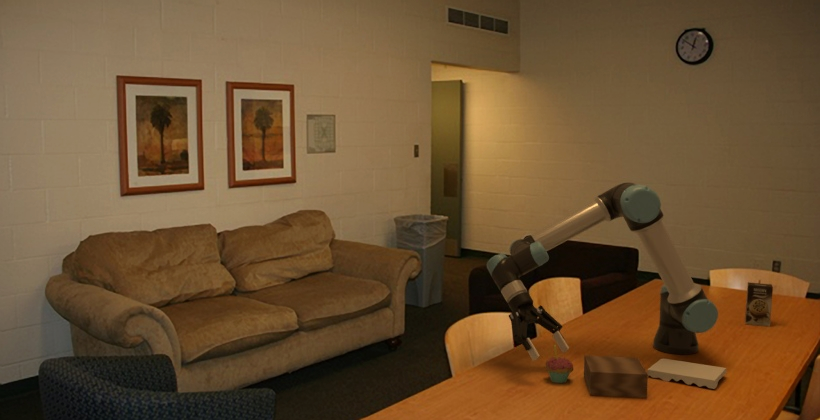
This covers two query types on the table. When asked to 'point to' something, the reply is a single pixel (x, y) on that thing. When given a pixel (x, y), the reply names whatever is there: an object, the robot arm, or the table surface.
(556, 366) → the cupcake
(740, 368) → the table surface
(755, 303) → the cookie box
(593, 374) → the riser
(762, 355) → the table surface
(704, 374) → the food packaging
